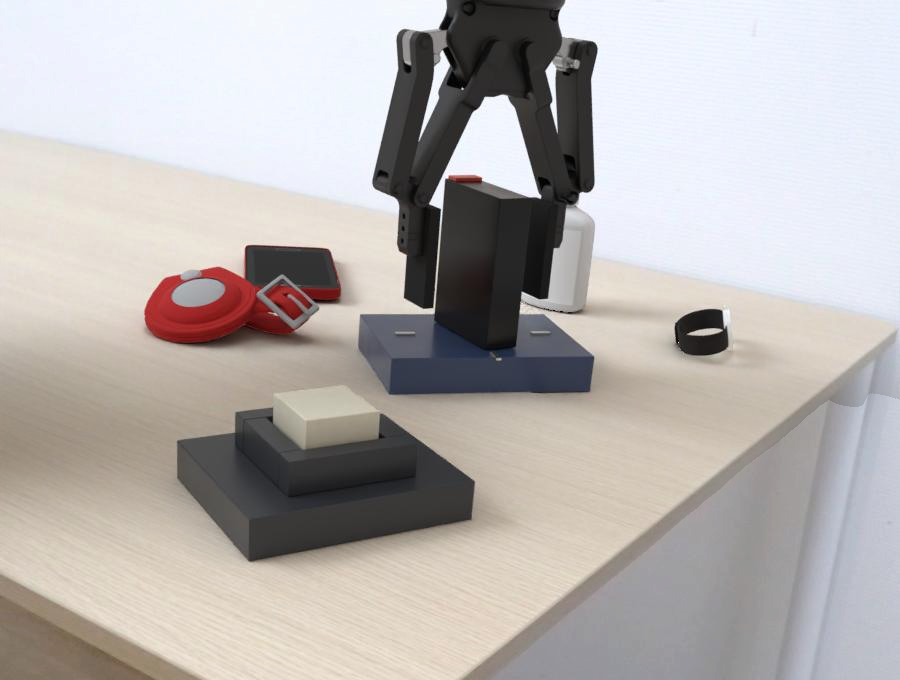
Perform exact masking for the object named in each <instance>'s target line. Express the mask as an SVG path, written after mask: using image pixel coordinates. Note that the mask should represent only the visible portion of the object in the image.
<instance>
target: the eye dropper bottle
mask: <svg viewBox="0 0 900 680" xmlns="http://www.w3.org/2000/svg"><path fill="white" fill-rule="evenodd" d="M580 194H581V193H579V197H580V196H581V195H580ZM579 204H580V198H579V199H578V201H577V203H575V204H574V205H567V206H566V214H565V223H564V231H563V240H562V243H561V245H560V247H559V248H554V251H553V260H552V269H551V277H550V286H549V295H548V299H540V300H539V299H537V298H535V297H533V296H530V295H528V294H526V293H524V292H522V295H521V302H524V303H526V304H528V305H531V306H534V307H537V308H541V309H544V308H545V310H548V309H549V311H553V310H555V311H554V312H560V311H563V312H562V313H568V312H572V313H575V312H578V311H581V310H583V309H584V308H585V307H586V305H587V298H588V292H589V282H590V276H591V268H592V259H593V250H594V241H595V234H596V223H595V220H594V218H593V217H592V216H591V215H589V213H587V212H586V211H584V210H583V209H581V208H579V207H578V205H579Z"/></svg>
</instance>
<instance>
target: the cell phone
mask: <svg viewBox="0 0 900 680" xmlns="http://www.w3.org/2000/svg"><path fill="white" fill-rule="evenodd" d="M243 256H244V257H243V259H244V279H246V280H247V281H248V282H250V283H251V284H252V285H253V286H255V287H257V288H260V289H263V288H264V287H266V286H267V285H268V284H270V283H271V282H272V281H273V280H275V279H276V278H277V277H279V276H280V275H284V276H285V277H287V278H288V279H289V280H290V281H291V282H292V283H293V284H294V285H296V286H297V287H298V288H299V289H300V290H301V291H302V292H304V293H305V294H306V295H307V296H308V297H309V298H310V299H311V300H323V301H324V300H325V301H326V300H327V301H328V300H331V301H332V300H338V299H340V298H341V296H342V285H341V281H340V278H339V275H338V271H337V268H336V264H335V261H334V258H333V254H332V251H331V250H330V249H329V248H326V247H314V246H292V245H291V246H289V245H267V244H247V245H246V246H245V247H244V255H243ZM277 285H282V286H286V285H285V284H284V283H283V282H280V283H278V284H277ZM286 287H287V286H286Z"/></svg>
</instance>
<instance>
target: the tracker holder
mask: <svg viewBox="0 0 900 680" xmlns="http://www.w3.org/2000/svg"><path fill="white" fill-rule="evenodd" d="M280 282H283V283H284V284H285V285H286V286H287V287H286V286H282V285H277V284H278V283H280ZM318 311H320V305H319V304H317V303H316V301H314V299H310V298H309V297H308V296H307V295H306V294H305V293H304V292H302V291H301V290H300V289H299V288H298V287H297V286H296V285H294V284H293V283H292V282H291V281H290V280H289V279H288V278H287V277H285V276H284V275H280V276H279V277H277V278H276V279H275V280H273V281H272V282H271V283H270V284H268V285H267V286H266V287H264V288H263V289H260V288H257V287H255V286H253V285H252V284H251V283H250V282H248V281H247V280H246V279H245V277H242V276H240V275H239V274H237V273H235V272H234V271H231V270H230V269H227V268H225V267H221V266H214V267H208V268H203V269H189V270H186V271H184V272H182V273H180V274H176V275H171V276H166V277H165V278H163V279H162V280H161V281H160V282H159V283H158V285H157V286H156V288H155V289H154V290H153V291H152V293H151V295H150V297H149V299H148V300H147V301H146V304H145V308H144V312H143V315H144V323H145V325H146V328H147V329H148V331H149V332H150V333H151V334H153V335H154V336H155V337H158V338H159V339H162V340H166V341H168V342H171V343H179V344H180V343H181V344H192V343H202V342H208V341H212V340H217V339H219V338H222V337H225V336H228V335H229V334H231V333H234V332H236V331H237V330H239V329H241V327H243V326H247V327H249V328H252V329H254V330H258V331H259V332H263V333H267V334H274V335H290V334H293V333H294V332H295V331H298V330H299V329H300V328H301V327H302V326H303V325H305V324H306V323H307V322H308V321H309V320H310V319H311V317H313V316H314V315H315V314H316V313H317V312H318Z"/></svg>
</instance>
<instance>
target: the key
mask: <svg viewBox="0 0 900 680" xmlns="http://www.w3.org/2000/svg"><path fill="white" fill-rule="evenodd" d="M272 404H273V405H272V407H273V424H274V425H275V426H276V427H277V428H278V429H279V430H280V431H281V432H283V433H284V434H285V435H286V436H287V437H288V438H289V439H290V440H292V441H293V442H294V443H295V444H296V445H297V446H298V447H299V448H301V449H302V450H304V449H311V448H318V447H325V446H332V445H339V444H346V443H353V442H360V441H367V440H374V439H378V436H379V420H380V414H381V411H380V409H378V408H377V407H375V405H373V404H372V403H370V402H368V401H367V400H366V399H364V398H363V397H362V396H361V395H359V394H358V393H356V392H355V391H354V390H353V389H351V388H350V387H348V386H347V385H345V384H342V385H334V386H326V387H317V388H316V387H315V388H308V389H307V388H306V389H298V390H290V391H289V390H288V391H281V392H273V401H272Z"/></svg>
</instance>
